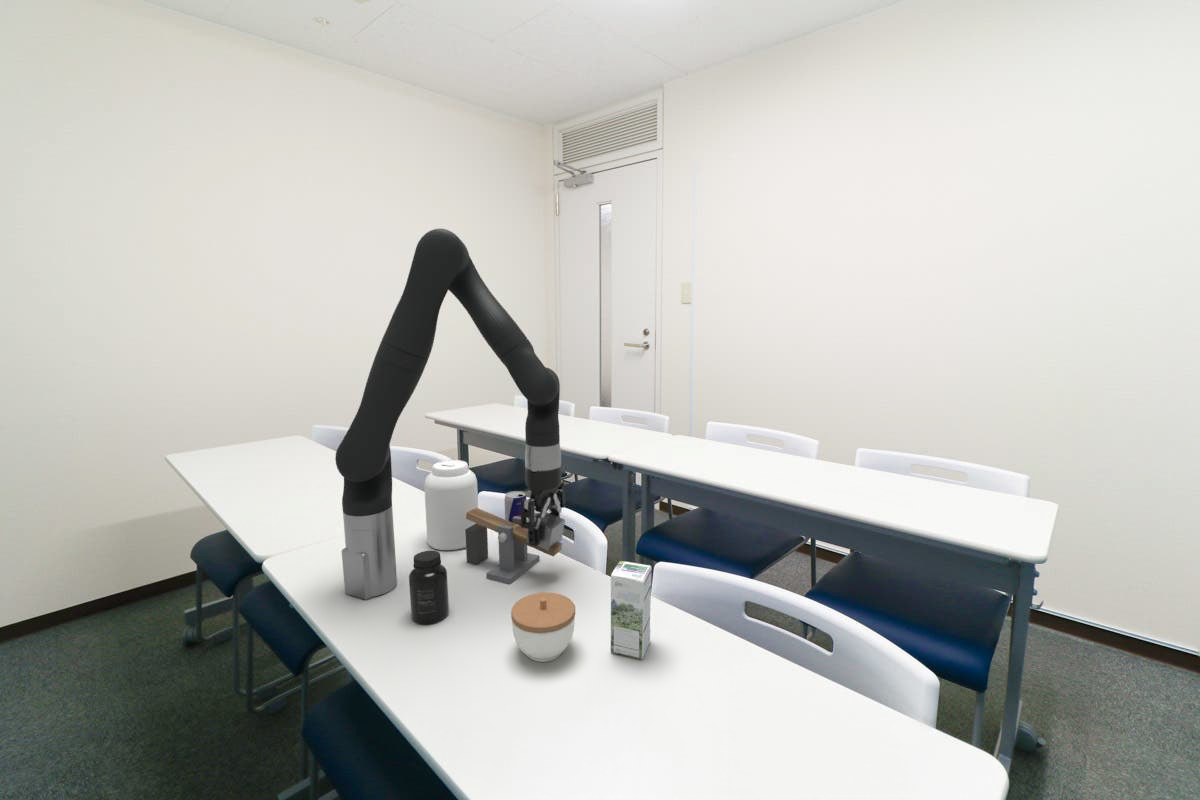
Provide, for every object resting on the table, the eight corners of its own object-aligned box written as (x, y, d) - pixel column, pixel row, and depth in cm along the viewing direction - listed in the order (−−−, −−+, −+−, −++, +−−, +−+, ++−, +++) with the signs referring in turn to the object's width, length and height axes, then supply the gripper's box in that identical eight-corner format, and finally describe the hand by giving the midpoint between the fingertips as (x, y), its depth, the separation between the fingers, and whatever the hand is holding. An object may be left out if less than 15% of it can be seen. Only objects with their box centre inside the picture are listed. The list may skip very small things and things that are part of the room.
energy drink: (525, 544, 132) (524, 498, 130) (503, 544, 133) (502, 498, 131) (528, 535, 138) (527, 490, 136) (507, 535, 138) (506, 490, 136)
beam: (553, 556, 113) (554, 549, 113) (465, 518, 122) (466, 512, 121) (561, 549, 116) (562, 543, 116) (475, 513, 125) (476, 507, 124)
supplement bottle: (456, 610, 104) (454, 551, 102) (431, 629, 98) (428, 567, 96) (429, 602, 107) (425, 545, 105) (403, 619, 101) (399, 559, 99)
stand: (509, 584, 114) (508, 535, 112) (455, 570, 120) (452, 523, 118) (539, 560, 124) (538, 515, 122) (488, 548, 130) (486, 505, 129)
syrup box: (650, 641, 94) (652, 563, 92) (642, 661, 89) (643, 579, 87) (619, 634, 96) (620, 558, 94) (609, 654, 91) (609, 574, 88)
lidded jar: (567, 675, 86) (566, 620, 84) (503, 667, 88) (501, 613, 86) (581, 635, 96) (581, 586, 94) (523, 628, 98) (522, 580, 96)
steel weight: (548, 550, 112) (552, 529, 111) (526, 541, 114) (529, 519, 113) (561, 540, 117) (565, 519, 116) (540, 531, 119) (543, 511, 118)
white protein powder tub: (417, 541, 134) (412, 464, 131) (459, 526, 143) (456, 453, 140) (446, 556, 126) (442, 474, 123) (489, 539, 135) (486, 462, 132)
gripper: (545, 453, 121) (546, 522, 123) (508, 470, 108) (511, 547, 111) (574, 457, 117) (575, 527, 120) (540, 475, 105) (542, 554, 108)
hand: (544, 536), depth 115 cm, fingers open, 8 cm apart
